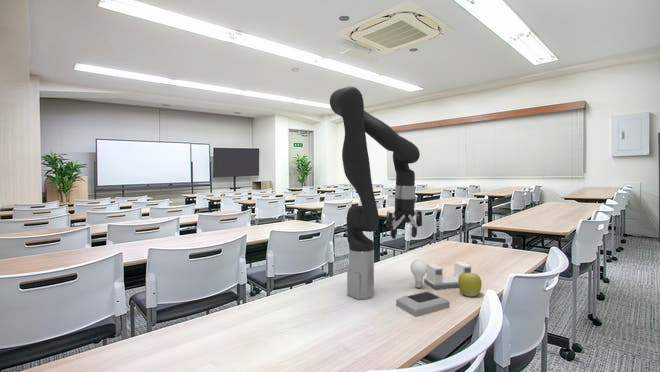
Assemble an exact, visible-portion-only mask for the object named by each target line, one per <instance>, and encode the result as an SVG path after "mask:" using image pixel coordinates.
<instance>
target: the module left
mask: <svg viewBox="0 0 660 372" xmlns="http://www.w3.org/2000/svg"><path fill="white" fill-rule="evenodd" d="M426 266H427V272H426V274H425V276H426V278H427V279H428V280H430V281H431V282H432V283H434V284H438V283H442V279H443V277H444V276H443V275H444V274H443V272H444V271H443V270H444V269H443V267H442V266H440V265H438V264H436V263H426Z"/></svg>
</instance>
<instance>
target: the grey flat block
mask: <svg viewBox="0 0 660 372" xmlns="http://www.w3.org/2000/svg"><path fill="white" fill-rule="evenodd" d="M395 307H397V308H399V309H401V310H403V311H405V312H406V313H408V314H410V315H412V316H413V317H415V318H418V317H420V316H425V315H429V314H431V313H434V312H435V313H436V312H438V311H442V310H446V309H449V308H450V301H449V300H448V299H447V298H445V297H443V296H441V295H440V294H437V293H434V292H432V291H430V290H426V291H421V292H420V291H419V292H417V293H412V294H409V295H404V296H401V297H399V298H397V299H396V300H395Z"/></svg>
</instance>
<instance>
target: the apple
mask: <svg viewBox="0 0 660 372" xmlns="http://www.w3.org/2000/svg"><path fill="white" fill-rule="evenodd" d="M458 284H459V288H458V289H459V290H460V293H461V294H463V295H464V296H465V297H470V298H471V297H472V298H473V297H476V296H478V295H479V294H480V293H481V289H482V279H481V277H480V276H479V274H477V273H475V272H471V273H462V274H460V276H459V278H458Z"/></svg>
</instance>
